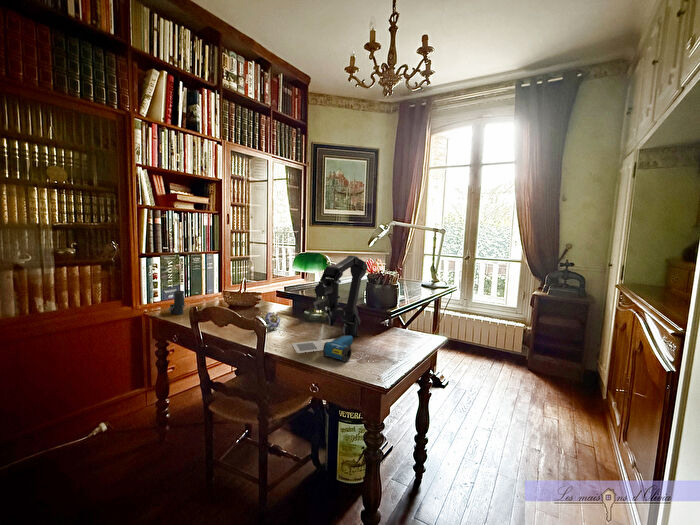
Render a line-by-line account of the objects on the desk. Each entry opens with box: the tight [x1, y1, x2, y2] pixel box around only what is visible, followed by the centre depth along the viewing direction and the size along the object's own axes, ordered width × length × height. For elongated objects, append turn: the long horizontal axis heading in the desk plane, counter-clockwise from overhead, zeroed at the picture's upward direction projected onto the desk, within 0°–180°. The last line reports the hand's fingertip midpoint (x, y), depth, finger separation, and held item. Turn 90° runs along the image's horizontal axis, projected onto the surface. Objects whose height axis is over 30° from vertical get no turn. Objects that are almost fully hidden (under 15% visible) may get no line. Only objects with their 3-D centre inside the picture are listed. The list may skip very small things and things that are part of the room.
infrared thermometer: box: [322, 334, 354, 363], centre depth 143 cm, size 6×13×20 cm
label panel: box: [291, 338, 335, 354], centre depth 150 cm, size 24×12×1 cm, turn 113°
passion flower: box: [260, 310, 282, 332], centre depth 172 cm, size 11×11×12 cm
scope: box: [167, 290, 186, 316], centre depth 192 cm, size 8×14×10 cm
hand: (331, 325), depth 149 cm, fingers closed
